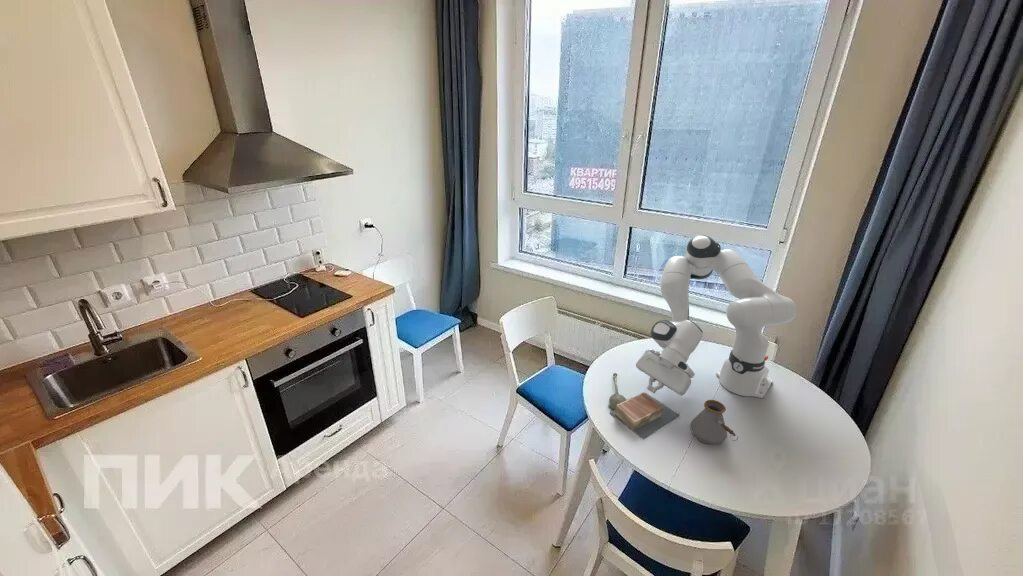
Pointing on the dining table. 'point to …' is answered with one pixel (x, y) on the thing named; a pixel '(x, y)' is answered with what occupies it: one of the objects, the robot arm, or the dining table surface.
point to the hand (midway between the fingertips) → (650, 391)
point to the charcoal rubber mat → (655, 424)
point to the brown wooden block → (638, 410)
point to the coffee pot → (711, 424)
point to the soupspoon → (616, 396)
